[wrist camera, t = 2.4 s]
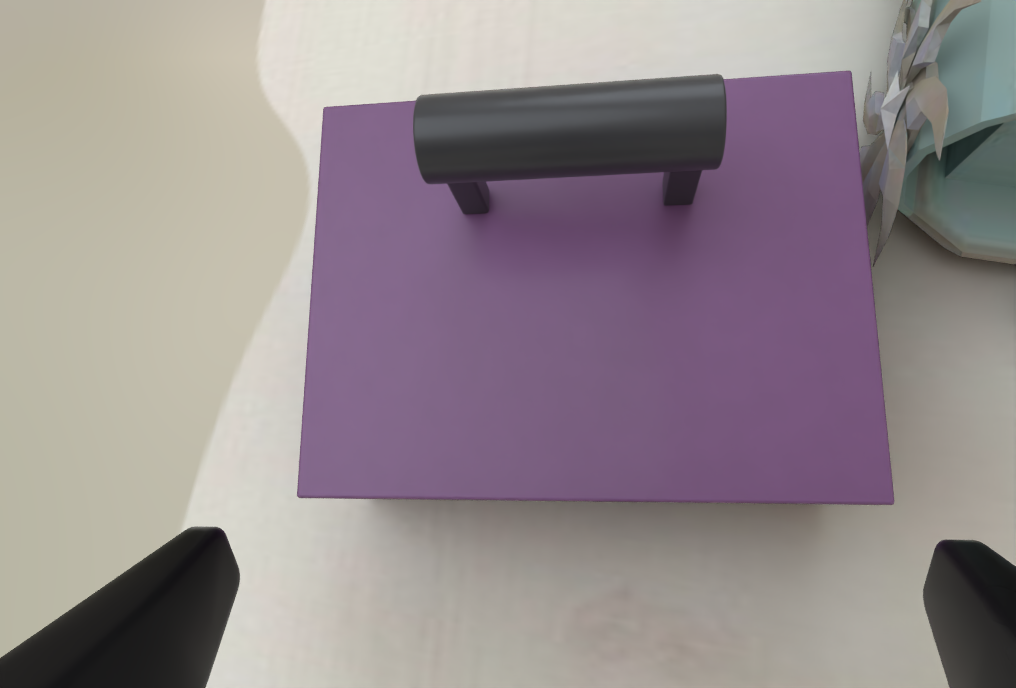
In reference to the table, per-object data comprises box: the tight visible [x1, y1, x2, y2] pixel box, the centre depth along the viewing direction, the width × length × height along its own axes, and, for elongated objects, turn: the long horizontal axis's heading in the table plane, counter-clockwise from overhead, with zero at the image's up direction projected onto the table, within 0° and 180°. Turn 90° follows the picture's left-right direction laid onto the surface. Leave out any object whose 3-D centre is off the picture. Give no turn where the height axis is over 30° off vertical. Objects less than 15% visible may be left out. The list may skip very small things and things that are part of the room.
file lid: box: [297, 71, 894, 505], centre depth 15 cm, size 10×14×5 cm
